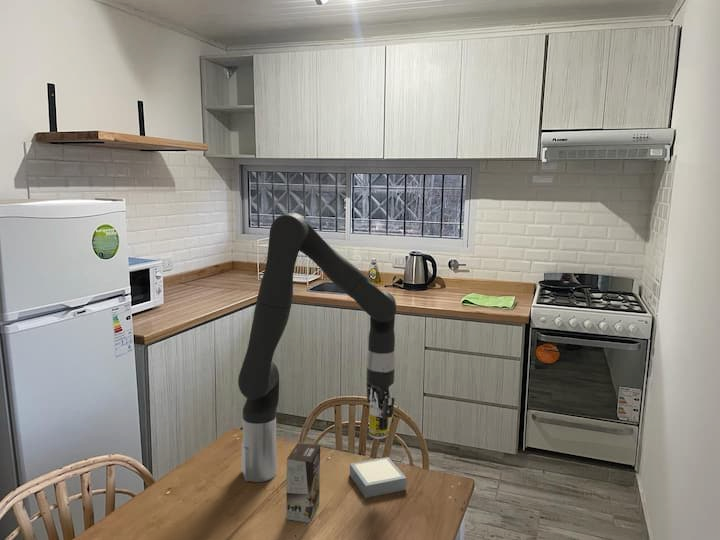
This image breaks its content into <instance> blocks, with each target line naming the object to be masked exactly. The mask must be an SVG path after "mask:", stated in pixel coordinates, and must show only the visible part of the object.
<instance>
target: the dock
mask: <svg viewBox="0 0 720 540" xmlns="http://www.w3.org/2000/svg"><path fill="white" fill-rule="evenodd" d="M349 476H350V477H351V479H352V481H353V482H354V484H355V485H356V486H357V488H358V490H359V491H360V493H361V494H362V496H364V498H365V499H368V498H373V497H376V496H383V495H387V494H391V493H397V492H401V491H406V490H407V476H406V475H405V474H404V473H403V472H402V471H401V470H400V469H399V467H398V466H397V465H396V464H395V463H394V462H393V460H392V459H391V458H390V457H389V456H386V457H381V458H376V459H370V460H369V459H368V460H363V461H358V462H353V463H349Z"/></svg>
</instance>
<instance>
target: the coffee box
mask: <svg viewBox="0 0 720 540" xmlns="http://www.w3.org/2000/svg"><path fill="white" fill-rule="evenodd" d="M320 475H321V445H319V444H313V443H312V444H311V443H299V442H298V443H296V445H295V446H294V448H293V450H291V451H290V453H289V455H288V456H287V458H286V490H285V491H286V496H285V497H286V500H285V501H286V504H285V505H286V507H285V509H286V511H285V514H286V515H285V516H286V517H285V518H286V520H290V521H296V522H302V523H307V524H309V523H311V520H312V519H313V518H314V517H313V516H314V515H315V512H316V511H317V509H318V507H319V504H320V499H321V498H320V492H321V491H320V489H321V488H320V483H321V481H320V480H321V476H320Z"/></svg>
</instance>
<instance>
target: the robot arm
mask: <svg viewBox="0 0 720 540" xmlns="http://www.w3.org/2000/svg"><path fill="white" fill-rule="evenodd" d="M267 247H268V248H267V257H266V264H265V268H264V272H263V275H262V277H261V282H260V285H259V289H258V294H257V298H256V303H255V308H254V313H253V318H252V322H251V330H250V333H249V339H248V344H247V349H246V353H245V355H244V356H245V357H244V360H243V362H242V365H241V368H240V371H239V374H238V380H237V384H238V388H239V392H240V393H241V394H242V396H244V397H245V398H246V401H245V403H244V405H243V407H242V439H241V473H242V476H243V479H244V482H246V483H247V482H251V483H252V482H253V483H262V482H267V481H270V480H272V479H274V477H275V476H276V474H277V409H278V406H279V401H280V372H279V369H278V367H277V365H276V364H275V363H274V362H273V358H274V354H275V351H276V349H277V347H278V344H279V342H280V340H281V339H282V336H283V333H284V332H285V330H286V326H287V324H288V321H289V317H290V314H291V308H292V303H293V298H294V297H293V295H294V270H295V266H296V262H297V259H298V256H299V253H302V254H304V255H305V256H306V257H308V258H309V259H310V260H311V261H312V262H313V263H315V265H317V266H318V268H319V269H320V270H321V271H322V272H323V273H324V274H325V276H326V277H327V278H328V279H329V280H330V281H331V282H332V284H333V285H335V286H336V287H337V288H338V289H340V290H341V291H343V293H345V294H346V295H347V296H349V297H350V298H352V299H353V300H354V301H355V302H356V304H357V305H358V306H360V308H361V309H362V310H363V311H364V312H365V313H366V314H367V315H368V316H370V317H369V322H370V323H369V325H370V328H369V332H368V348H367V349H368V351H367V356H366V398H367V399H366V400H367V401H366V402H367V404H369V408H370V409H371V408H372V407H373V406H372V403H373V400H375V401H376V405H377V409H379V416H380V417H379V429H380V430H381V431H382V430H387V426H388V418H389V419H390V418H393V413H394V406H395V397H394V396H392V397H391V396H390V387H391V386H392V385H393V384H395V368H396V367H395V366H396V355H395V354H396V353H395V346H396V345H395V344H396V342H395V341H396V339H395V338H396V337H395V319H396V312H397V302H396V298H395V297H394V295H393V294H391V293H390V292H388V291H386V290H383V291H382V290H380V289H379V288H378V287H377V286H376V285H374V284H373V282H372V280H371V279H370V278H369V277H368V275H366V274H365V273H364V272H362V270H360V269H359V268H357V266H355V265H354V264H353V263H351V262H350V261H349V260H348V259H347V258H346V257H344V256H343V255H341V254H340V253H339V252H338V251H337V250H336V249H334V247H332V246H331V245H330V244H329V243H328V242H326V241H325V239H324V238H323V237H321V236H320V234H319V233H318V232H317V231H316V230H315V229H314V227H312V226H311V224H310V223H309V222H308V221H307V220H306V218H305V217H304V216H303V215H302V214H299V213H297V212H286V213H283V214H281V215H278V217H276V218H275V219H273V222H272V223H271V225H270V230H269V237H268V246H267ZM383 403H384V405H380V404H383ZM382 408H383V412H382Z"/></svg>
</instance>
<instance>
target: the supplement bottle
mask: <svg viewBox="0 0 720 540" xmlns="http://www.w3.org/2000/svg"><path fill="white" fill-rule="evenodd" d="M380 405H384V403H383V404H380ZM372 406H373V407H372V408H370V409H369V415H368V416H369V417H368V435H369V437H371V438H373V439H379V440H381V439H385V438H387V437H388V435H389V426H390V425H389V424H390V417H389V418H388V426H387V430H382V431H381V430H380V429H379V417H380V416H379V409H377V405H376V401H375V400H373V403H372ZM382 412H383V408H382Z"/></svg>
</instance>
